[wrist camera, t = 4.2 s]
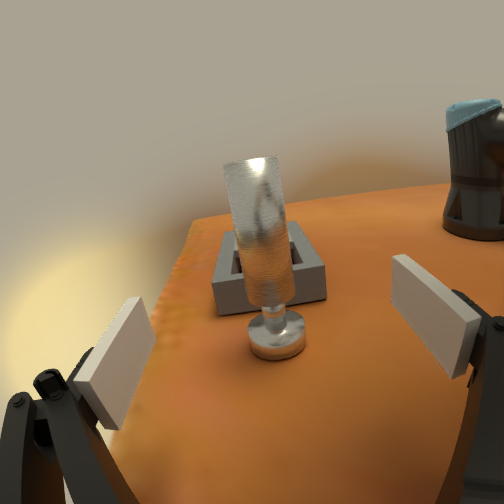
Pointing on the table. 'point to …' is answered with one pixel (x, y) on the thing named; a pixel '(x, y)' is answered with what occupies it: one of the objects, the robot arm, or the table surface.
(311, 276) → the keyhole plate
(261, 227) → the steel peg
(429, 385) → the table surface
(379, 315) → the table surface
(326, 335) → the table surface
